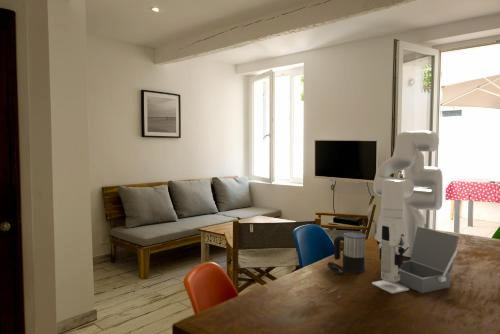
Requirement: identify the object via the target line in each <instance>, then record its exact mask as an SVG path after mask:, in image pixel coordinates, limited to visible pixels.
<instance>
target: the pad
mask: <svg viewBox="0 0 500 334" xmlns="http://www.w3.org/2000/svg"><path fill="white" fill-rule="evenodd" d="M371 284H372V285H373V286H375V287H377V288H379V289H381V290H384V291H385V292H388V293H390V294H397V293H400V292H401V293H402V292H406V291H410V288H409V287H407V286H404V285H402V284H400V283H397V282H388V281H384V280H377V281H373V282H371Z"/></svg>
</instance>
